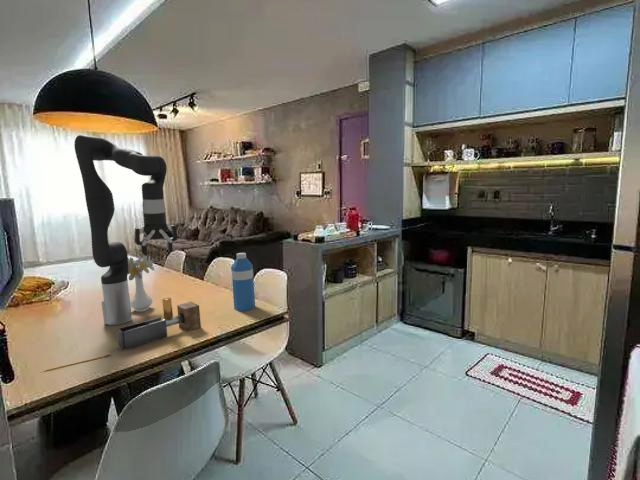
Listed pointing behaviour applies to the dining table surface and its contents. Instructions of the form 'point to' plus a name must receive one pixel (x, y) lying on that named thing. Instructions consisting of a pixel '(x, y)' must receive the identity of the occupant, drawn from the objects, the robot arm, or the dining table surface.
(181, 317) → the tube
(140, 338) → the sleeve
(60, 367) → the pencil
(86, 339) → the dining table surface
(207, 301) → the dining table surface
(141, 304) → the flower vase
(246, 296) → the water bottle
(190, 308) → the socket block
